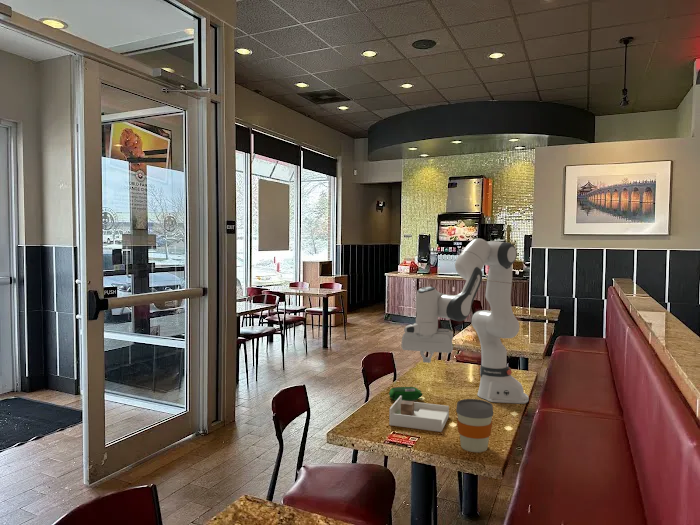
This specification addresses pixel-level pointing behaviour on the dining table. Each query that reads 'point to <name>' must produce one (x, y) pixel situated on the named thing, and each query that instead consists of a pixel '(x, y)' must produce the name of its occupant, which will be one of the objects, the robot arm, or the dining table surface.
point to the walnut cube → (407, 408)
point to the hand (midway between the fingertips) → (426, 362)
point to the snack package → (405, 393)
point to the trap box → (420, 416)
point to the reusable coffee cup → (474, 424)
